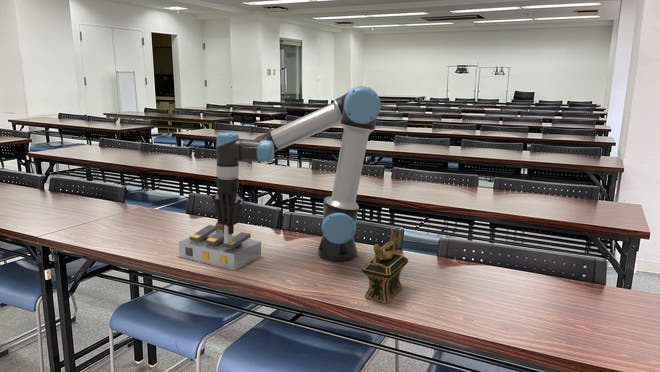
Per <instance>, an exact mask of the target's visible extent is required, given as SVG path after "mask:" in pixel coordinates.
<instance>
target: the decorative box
mask: <svg viewBox="0 0 660 372" xmlns="http://www.w3.org/2000/svg"><path fill="white" fill-rule="evenodd" d="M390 230H391V232H390V233H391V235H390V237H389V241H388V242H386V243H384V245H382V246H380V244H377V243H376V244H373V251H374V254H373V258H372V259H371V260H369V261H368V262H367V263H366V264H365V265H364V266H362V268H361V273H363V274H364V275H365V276H366V277H367V279H368V281H369V282H368V283H369V284H368V289H367V291H366V292H365V295H364V297H366V299H367V298H369V299H368V300H370V299H373V300H372V301H374V300H376V301H375V302H378V301H379V303H382V302H384V303H383V304H389V303H391V302H392V301H393V299H395V298H396V296H398V294H400V293H401V292H402V290H403V289H404V288H403V285H402V283H401V280H400V275H401V272H402V270H403V268H405V266H407V264H408V263H409V258H407V257H406V256H404V255H402V254H401V253H400V254H399V253H395V250H396V244H398V243H399V242H400V241H401V240H402V238H403V235H402V234H401V235H400V236H397V237H396V233H395V232H394V230H393V229H392V228H390Z"/></svg>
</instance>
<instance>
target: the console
mask: <svg viewBox="0 0 660 372" xmlns="http://www.w3.org/2000/svg"><path fill="white" fill-rule="evenodd" d="M216 233H217V232H216V231H214V232H213V233H211V234H210V235H208V236H207V237H205V238H204V239H202V240H200V241H199V242H196V241H191V240H190V238H189V237H187V238H185V239H183V240H180V241H178V255H179V258H183V259H187V260H190V261H195V262H197V263H198V262H199V263H203V264H207V265H210V266H214V267H219V268H221V269H227V270H231V271H233V272H234V271H237V270H238V269H240V268H242V267H244V266H246V265H248V264H249V263H252V262H253V261H256V260H258V259H259V258H261V257H262V241H261V240H260V241H259V240H255V239H250V238H249V239H247V240H245V241H244V242H242V243H241V244H239V245H237V246H236V247H234V248H233V249H230V248H226V247H223V243H224V240H223V241H221V242H220V243H218V244H217V245H215V246H214V245H209V244H206V240H207V239H209V238H210V237H212V236H213V235H215V234H216ZM234 236H235V235H232V238H233V237H234Z"/></svg>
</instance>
